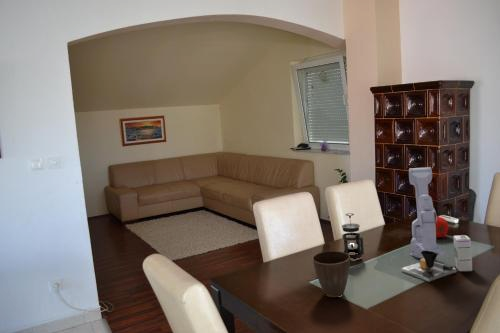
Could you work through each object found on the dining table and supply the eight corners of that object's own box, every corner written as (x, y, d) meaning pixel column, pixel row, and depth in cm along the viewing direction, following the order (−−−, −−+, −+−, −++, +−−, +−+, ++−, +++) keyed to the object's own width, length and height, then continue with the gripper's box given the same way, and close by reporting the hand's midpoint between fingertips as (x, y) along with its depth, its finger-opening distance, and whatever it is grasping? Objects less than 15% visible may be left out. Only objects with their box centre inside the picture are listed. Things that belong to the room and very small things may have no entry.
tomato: (428, 238, 235) (438, 246, 222) (415, 222, 234) (424, 228, 221) (447, 225, 234) (457, 232, 220) (433, 208, 233) (443, 214, 219)
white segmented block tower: (472, 271, 178) (471, 238, 177) (458, 271, 179) (456, 239, 178) (468, 266, 184) (467, 234, 182) (454, 266, 185) (452, 235, 183)
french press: (338, 258, 210) (335, 214, 207) (350, 253, 215) (347, 210, 213) (357, 263, 200) (353, 217, 198) (369, 258, 206) (366, 213, 203)
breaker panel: (401, 271, 186) (401, 265, 185) (428, 262, 193) (428, 256, 192) (428, 281, 172) (428, 274, 172) (456, 271, 179) (456, 265, 179)
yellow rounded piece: (420, 267, 184) (419, 259, 184) (424, 265, 185) (424, 258, 185) (425, 269, 181) (425, 261, 181) (430, 267, 182) (429, 260, 182)
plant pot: (345, 305, 159) (342, 265, 157) (310, 299, 167) (306, 261, 165) (357, 289, 171) (354, 252, 170) (323, 285, 179) (320, 249, 178)
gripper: (409, 235, 184) (410, 264, 185) (436, 243, 171) (437, 274, 172) (420, 232, 187) (422, 261, 188) (448, 239, 174) (449, 270, 175)
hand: (430, 267), depth 180 cm, fingers closed
